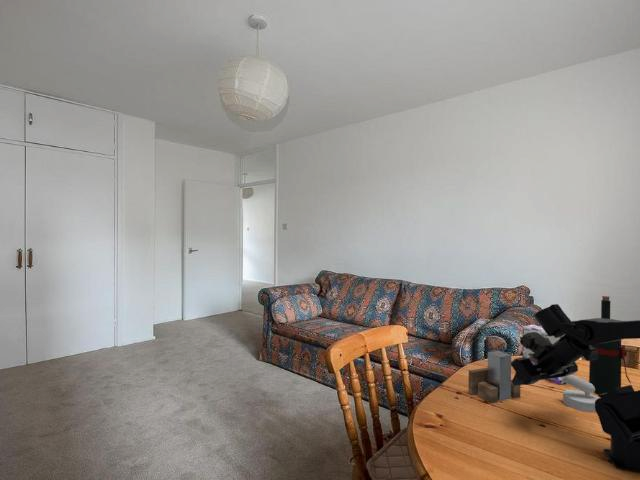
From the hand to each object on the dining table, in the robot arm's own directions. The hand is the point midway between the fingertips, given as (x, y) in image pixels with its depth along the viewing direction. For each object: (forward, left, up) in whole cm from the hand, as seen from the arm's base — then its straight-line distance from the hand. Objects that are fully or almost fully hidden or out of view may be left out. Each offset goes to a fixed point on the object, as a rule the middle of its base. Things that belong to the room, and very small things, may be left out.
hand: (525, 380), depth 99 cm
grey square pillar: (+7, +6, -8) cm, 12 cm away
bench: (+8, +6, -8) cm, 13 cm away
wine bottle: (+21, -27, -8) cm, 35 cm away
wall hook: (+9, -15, -8) cm, 20 cm away
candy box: (+30, -12, -8) cm, 33 cm away
